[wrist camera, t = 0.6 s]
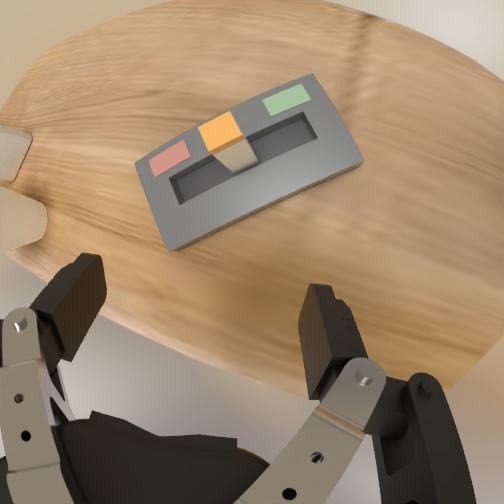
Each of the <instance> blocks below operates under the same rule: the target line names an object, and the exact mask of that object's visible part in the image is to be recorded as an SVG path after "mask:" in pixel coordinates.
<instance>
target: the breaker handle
mask: <svg viewBox="0 0 504 504" xmlns="http://www.w3.org/2000/svg"><path fill="white" fill-rule="evenodd" d="M198 129H199V131H200V134H201V136H202V138H203V140H204V142H205V145H206V147H207V149H208V151H209V152H210V153H211V154H212V155H213V156H214V157H216V158H217V159H218V160H219V161H220V162H221V163H222V164H224V165H225V166H226V167H227V168H228V169H229V170H230V171H232V172H233V173H234V174H235V175H238V174H240V173H242V172H244V171H246V170H248V169H250V168H252V167H254V166H256V165H258V164H260V163H259V161H258V159H257V157H256V155H255V153H254V151H253V149H252V147H251V145H250V143H249V142H248V140H247V138H246V137H245V135H244V133H243V132H242V130H241V128H240V127H239V125H238V123H237V122H236V120H235V118H234V117H233V115H232V114H231V112H230V111H228V112H226V113H224V114H222V115H220V116H218V117H217V118H215V119H213V120H211V121H209V122H207V123H205V124H203V125H201V126H199V127H198Z"/></svg>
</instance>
